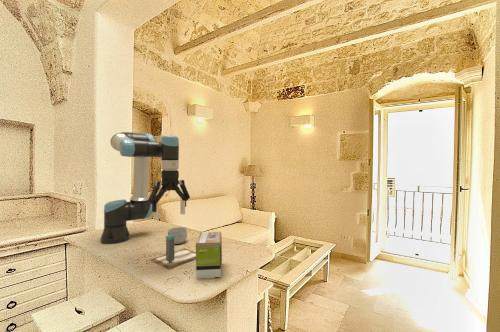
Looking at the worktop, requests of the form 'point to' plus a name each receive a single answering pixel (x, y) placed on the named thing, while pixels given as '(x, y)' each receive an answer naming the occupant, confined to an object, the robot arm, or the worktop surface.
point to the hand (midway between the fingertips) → (170, 216)
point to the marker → (170, 248)
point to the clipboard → (176, 258)
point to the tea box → (209, 255)
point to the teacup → (178, 234)
